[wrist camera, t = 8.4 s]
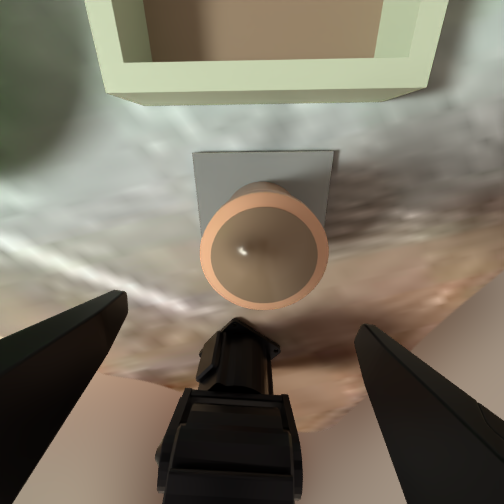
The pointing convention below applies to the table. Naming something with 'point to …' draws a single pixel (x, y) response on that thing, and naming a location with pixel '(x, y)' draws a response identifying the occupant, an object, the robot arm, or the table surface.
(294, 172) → the slate pad
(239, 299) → the terracotta pot
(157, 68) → the pale green square tray
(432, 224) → the table surface
